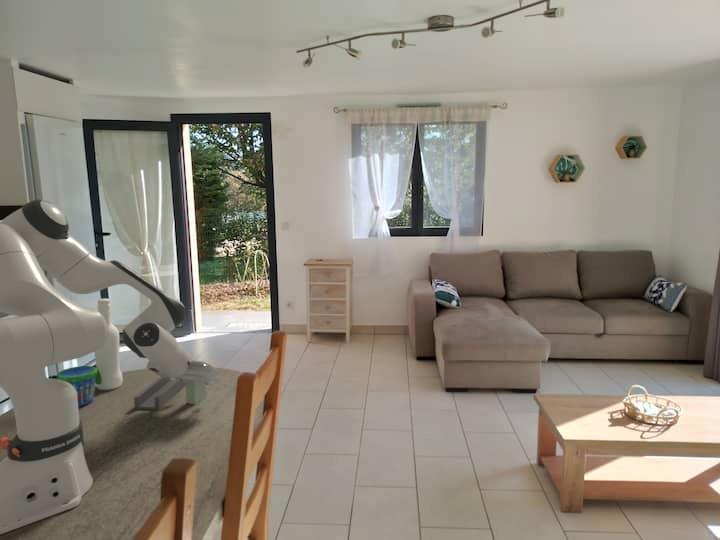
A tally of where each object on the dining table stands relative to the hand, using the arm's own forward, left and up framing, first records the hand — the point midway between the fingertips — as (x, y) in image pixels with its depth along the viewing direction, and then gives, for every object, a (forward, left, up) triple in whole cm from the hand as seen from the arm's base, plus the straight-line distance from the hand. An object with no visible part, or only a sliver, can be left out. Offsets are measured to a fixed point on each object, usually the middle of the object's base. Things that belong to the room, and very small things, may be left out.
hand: (196, 381), depth 150 cm
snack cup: (-23, +27, -6) cm, 36 cm away
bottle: (-11, +33, -6) cm, 35 cm away
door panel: (0, 0, -6) cm, 6 cm away
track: (-4, +12, -6) cm, 14 cm away
